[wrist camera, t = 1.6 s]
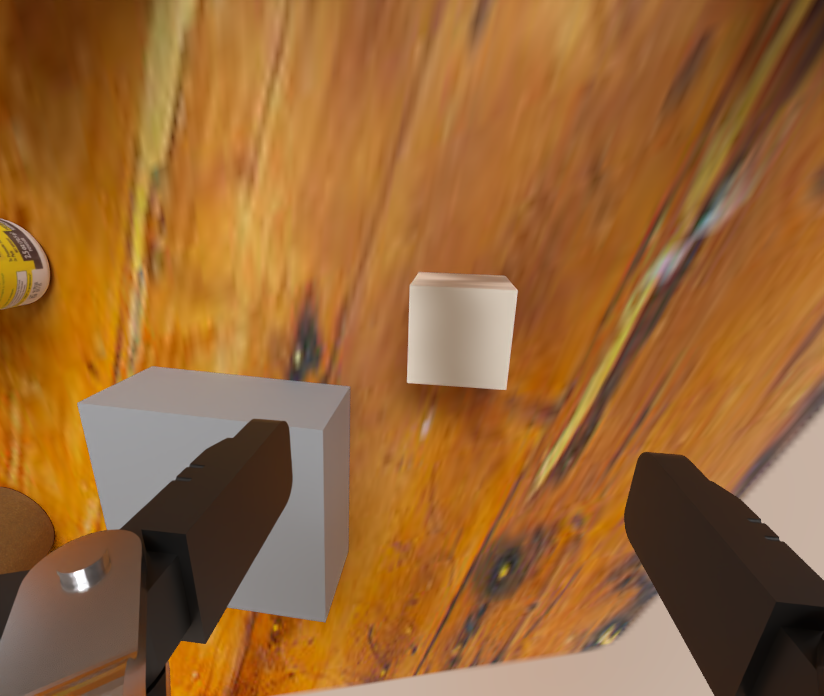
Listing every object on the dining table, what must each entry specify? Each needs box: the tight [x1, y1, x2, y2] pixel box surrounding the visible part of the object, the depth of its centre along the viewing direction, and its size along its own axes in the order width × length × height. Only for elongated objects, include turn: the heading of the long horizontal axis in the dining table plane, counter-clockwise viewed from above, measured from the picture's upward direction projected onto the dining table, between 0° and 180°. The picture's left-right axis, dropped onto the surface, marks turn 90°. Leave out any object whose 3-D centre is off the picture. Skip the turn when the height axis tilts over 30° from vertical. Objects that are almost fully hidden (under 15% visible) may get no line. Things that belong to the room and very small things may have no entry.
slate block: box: [77, 366, 350, 622], centre depth 26 cm, size 14×14×6 cm
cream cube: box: [407, 272, 518, 390], centre depth 21 cm, size 5×5×5 cm
